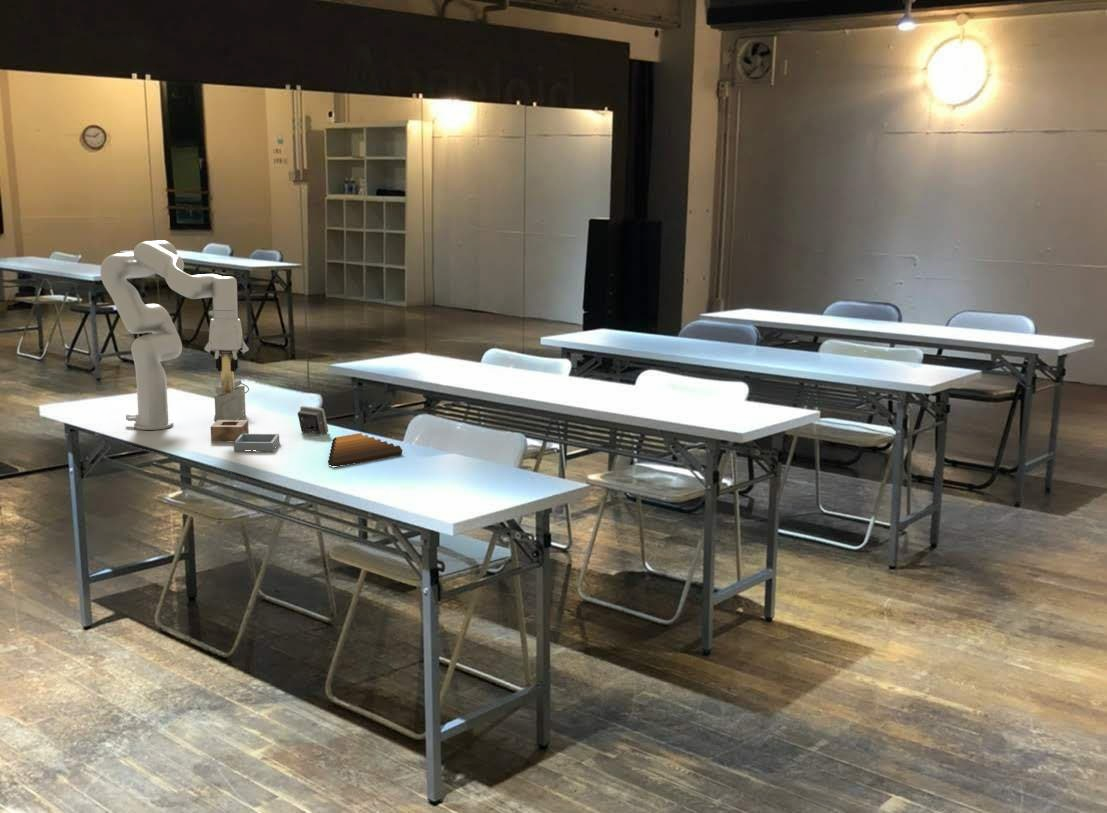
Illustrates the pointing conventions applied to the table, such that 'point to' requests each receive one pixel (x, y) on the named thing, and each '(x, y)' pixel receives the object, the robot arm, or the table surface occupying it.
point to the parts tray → (256, 442)
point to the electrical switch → (312, 420)
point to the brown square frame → (228, 430)
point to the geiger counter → (230, 402)
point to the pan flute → (360, 449)
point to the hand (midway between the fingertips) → (227, 370)
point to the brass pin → (226, 372)
